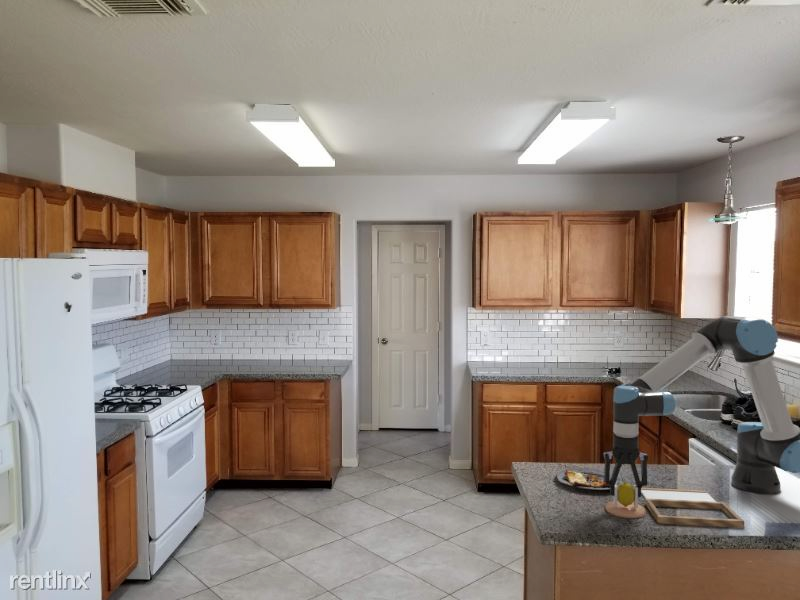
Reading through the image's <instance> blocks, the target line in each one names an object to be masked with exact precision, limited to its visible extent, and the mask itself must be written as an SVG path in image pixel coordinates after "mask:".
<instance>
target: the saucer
mask: <svg viewBox="0 0 800 600" xmlns="http://www.w3.org/2000/svg"><path fill="white" fill-rule="evenodd" d="M605 511H606V512H607V513H608V514H610V515H613V516H616V517H620V518H624V519H625V518H626V519H640V518H643V517H644V516H645V515H646V509H645V507H644V506H642V505H641V504H639V503H638V508H635V507H634V505H633V503H632V504H631V505H628V506H627V507H624V506H623V505H622V504H621V503H619V501H618V500H617V507H615V506H614V504H613V500H611V501H608V502H607V503H606V504H605Z"/></svg>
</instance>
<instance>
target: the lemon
mask: <svg viewBox="0 0 800 600" xmlns="http://www.w3.org/2000/svg"><path fill="white" fill-rule="evenodd" d="M634 498H635V494H634V489H633V486H632V485H631V484H630V483H627V482H626V481H624V483H622V484H620V485H619V486H618V488H617V501H619V503H621V504H622V505H623V506H624V507H627V506H628V505H631V504H632V503H633V501H634Z"/></svg>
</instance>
